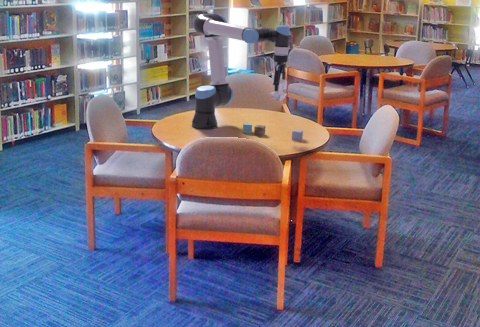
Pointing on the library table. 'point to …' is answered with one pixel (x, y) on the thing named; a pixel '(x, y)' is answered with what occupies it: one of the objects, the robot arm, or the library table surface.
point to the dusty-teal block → (247, 127)
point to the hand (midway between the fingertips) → (278, 95)
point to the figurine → (281, 94)
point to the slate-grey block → (297, 135)
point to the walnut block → (259, 130)
